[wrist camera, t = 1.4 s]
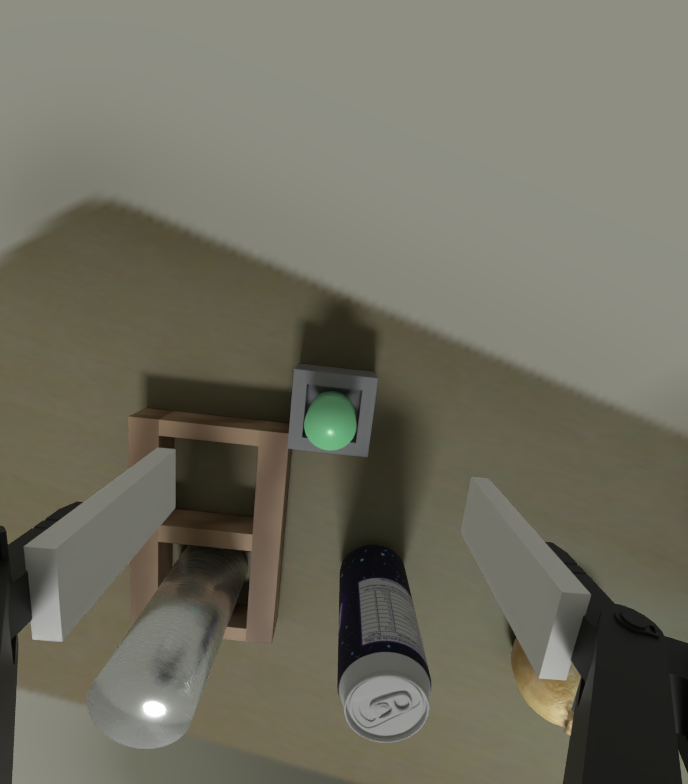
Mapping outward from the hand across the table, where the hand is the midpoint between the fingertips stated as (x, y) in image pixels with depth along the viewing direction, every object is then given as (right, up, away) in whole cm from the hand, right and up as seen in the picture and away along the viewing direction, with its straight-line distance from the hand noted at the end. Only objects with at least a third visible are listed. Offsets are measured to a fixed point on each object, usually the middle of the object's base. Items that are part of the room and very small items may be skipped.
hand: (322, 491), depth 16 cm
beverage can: (+3, -11, +17) cm, 21 cm away
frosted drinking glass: (-11, -11, +17) cm, 23 cm away
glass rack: (-10, -7, +16) cm, 20 cm away
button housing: (0, +3, +14) cm, 14 cm away
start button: (0, +3, +11) cm, 11 cm away
